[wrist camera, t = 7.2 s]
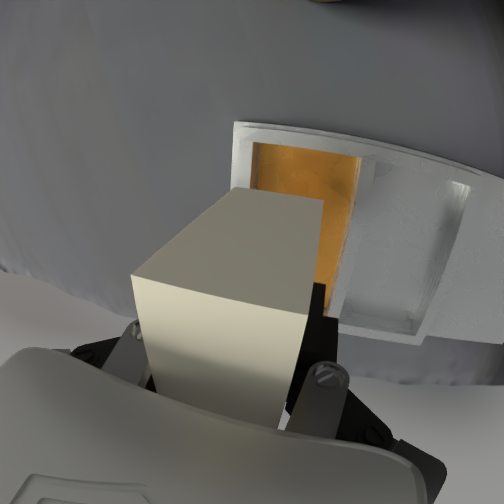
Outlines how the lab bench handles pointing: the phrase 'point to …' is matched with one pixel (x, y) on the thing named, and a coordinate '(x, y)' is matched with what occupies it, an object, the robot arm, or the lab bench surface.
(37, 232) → the lab bench surface
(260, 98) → the lab bench surface
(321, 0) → the squeeze bottle
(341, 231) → the grey framed tray board
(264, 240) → the tall ivory prism
